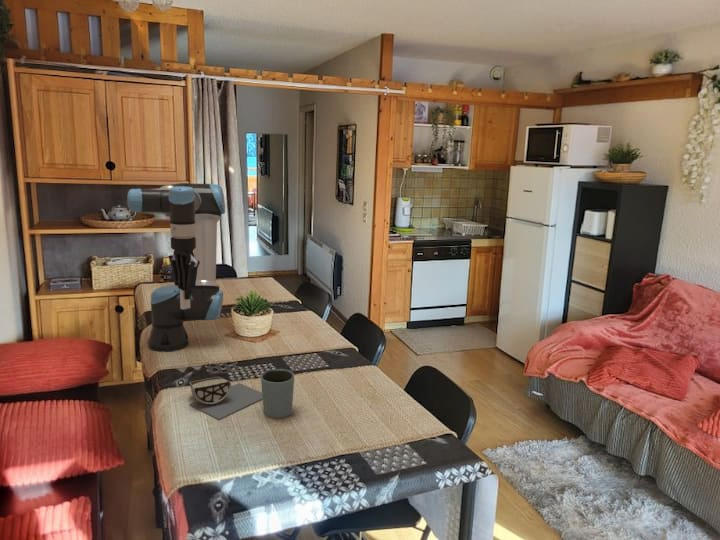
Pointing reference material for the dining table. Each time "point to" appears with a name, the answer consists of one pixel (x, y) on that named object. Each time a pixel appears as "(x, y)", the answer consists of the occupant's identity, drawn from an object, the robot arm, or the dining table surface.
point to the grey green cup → (277, 392)
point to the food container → (210, 389)
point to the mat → (230, 402)
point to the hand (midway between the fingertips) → (185, 308)
